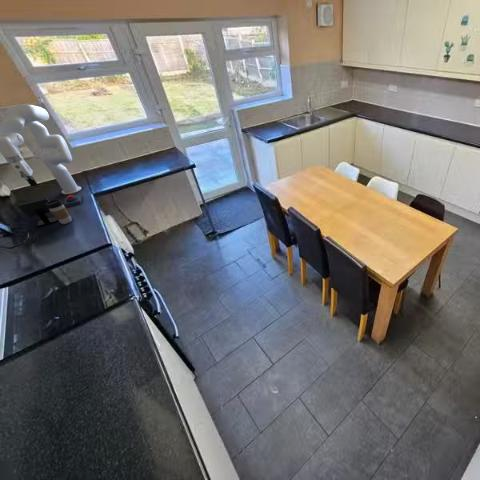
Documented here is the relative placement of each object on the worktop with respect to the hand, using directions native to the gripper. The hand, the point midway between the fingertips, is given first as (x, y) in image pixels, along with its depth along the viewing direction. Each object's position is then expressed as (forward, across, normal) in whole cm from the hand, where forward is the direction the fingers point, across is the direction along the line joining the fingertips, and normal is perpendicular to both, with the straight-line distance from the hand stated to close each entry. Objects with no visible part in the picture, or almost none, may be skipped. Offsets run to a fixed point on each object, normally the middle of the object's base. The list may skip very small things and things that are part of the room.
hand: (34, 185), depth 176 cm
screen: (+15, -11, +2) cm, 19 cm away
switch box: (+22, +10, -10) cm, 26 cm away
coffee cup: (+21, -20, -8) cm, 30 cm away
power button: (+18, +11, -11) cm, 23 cm away
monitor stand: (+21, -13, +2) cm, 24 cm away
